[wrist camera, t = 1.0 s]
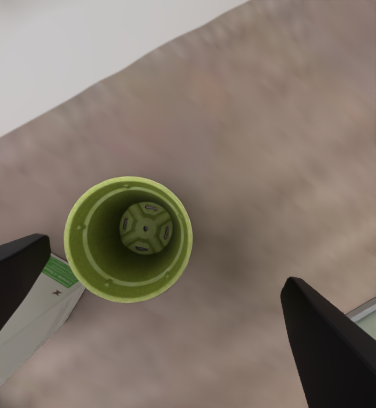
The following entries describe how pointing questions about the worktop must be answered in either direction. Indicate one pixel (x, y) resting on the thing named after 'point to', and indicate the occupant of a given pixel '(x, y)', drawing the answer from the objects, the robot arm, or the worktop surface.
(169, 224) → the plant pot
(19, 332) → the skincare box
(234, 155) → the worktop surface
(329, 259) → the worktop surface
